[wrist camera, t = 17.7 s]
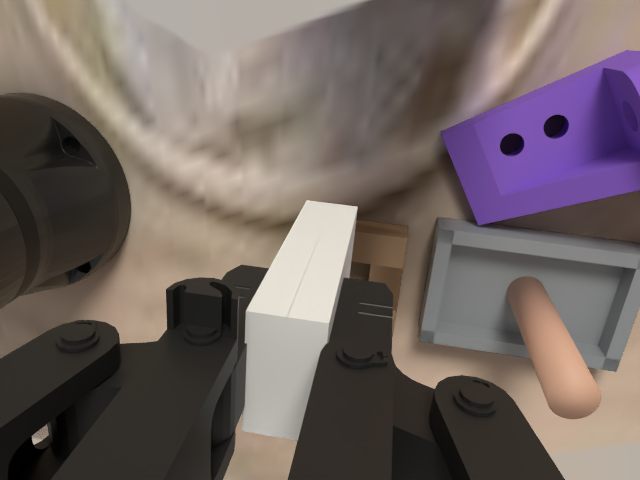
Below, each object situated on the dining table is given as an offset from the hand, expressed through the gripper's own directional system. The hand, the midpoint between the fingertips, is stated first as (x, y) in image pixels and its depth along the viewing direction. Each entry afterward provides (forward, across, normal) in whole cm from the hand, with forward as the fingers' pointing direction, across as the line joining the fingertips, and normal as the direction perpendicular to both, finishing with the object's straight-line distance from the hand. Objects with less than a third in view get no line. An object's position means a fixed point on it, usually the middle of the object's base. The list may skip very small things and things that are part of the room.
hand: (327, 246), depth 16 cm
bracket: (+23, +12, 0) cm, 26 cm away
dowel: (+22, +13, -11) cm, 27 cm away
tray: (+22, +13, -11) cm, 28 cm away
